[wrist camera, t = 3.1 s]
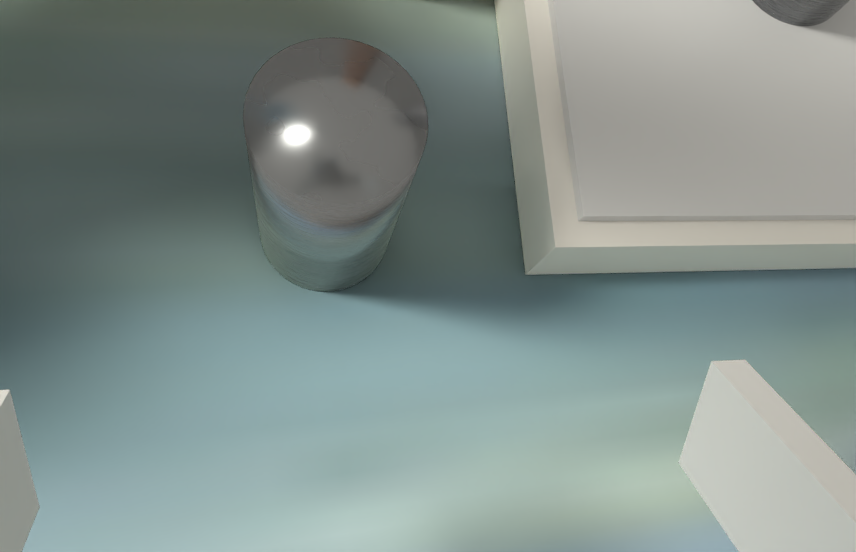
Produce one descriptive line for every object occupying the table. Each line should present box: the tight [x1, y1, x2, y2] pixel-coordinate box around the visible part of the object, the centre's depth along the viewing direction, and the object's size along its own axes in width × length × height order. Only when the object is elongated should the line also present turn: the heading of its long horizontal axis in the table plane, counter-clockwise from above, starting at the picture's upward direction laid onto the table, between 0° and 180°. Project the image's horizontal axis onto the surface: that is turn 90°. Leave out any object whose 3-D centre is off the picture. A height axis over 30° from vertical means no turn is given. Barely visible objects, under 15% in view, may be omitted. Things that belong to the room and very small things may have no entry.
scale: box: [494, 0, 856, 275], centre depth 30 cm, size 17×16×4 cm
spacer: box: [243, 38, 428, 292], centre depth 23 cm, size 5×5×9 cm
